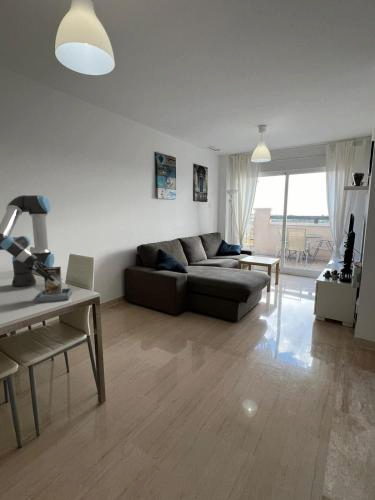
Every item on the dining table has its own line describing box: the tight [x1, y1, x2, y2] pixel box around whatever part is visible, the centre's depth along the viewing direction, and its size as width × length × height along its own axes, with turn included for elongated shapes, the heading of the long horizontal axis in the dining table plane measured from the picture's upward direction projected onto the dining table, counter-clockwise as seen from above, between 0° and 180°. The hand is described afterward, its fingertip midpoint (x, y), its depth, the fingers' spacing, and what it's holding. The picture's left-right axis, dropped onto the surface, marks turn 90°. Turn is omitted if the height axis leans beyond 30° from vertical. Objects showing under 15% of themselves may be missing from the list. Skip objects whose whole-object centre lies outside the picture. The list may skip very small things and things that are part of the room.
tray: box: [33, 287, 73, 304], centre depth 159 cm, size 16×18×3 cm
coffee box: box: [43, 266, 63, 295], centre depth 158 cm, size 9×6×16 cm
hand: (59, 282), depth 159 cm, fingers closed on coffee box, 7 cm apart
